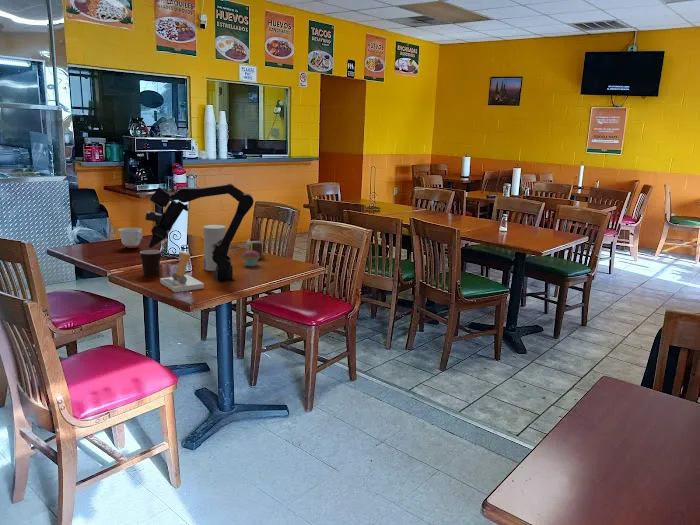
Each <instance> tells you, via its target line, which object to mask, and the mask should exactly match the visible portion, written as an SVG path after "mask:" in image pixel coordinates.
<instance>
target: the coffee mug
mask: <svg viewBox="0 0 700 525" xmlns="http://www.w3.org/2000/svg"><path fill="white" fill-rule="evenodd" d="M139 255H140V261H141V267H142V271H143V276H145V275H149V276H148V277H154V276H153V275H156V276H158V274H159V275H160V269H161V268H160V267H161V260H162V259H161V257H162V251H161V250H159V249H157V250H156V249H148V250H141V251H139Z"/></svg>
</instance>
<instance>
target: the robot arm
mask: <svg viewBox="0 0 700 525" xmlns="http://www.w3.org/2000/svg"><path fill="white" fill-rule="evenodd" d="M221 195H230V196H231V197H232V198H234V199H235V200H236V201H237V202H238V203H237V206H236V211H235V214H234V215H233V218H232V220H230V224H229V226H228V228H227V229H226V234H225V236H224V238H223V240H222V241H221V242H220V244H218V243H216V245H215V248H214V249H213V250H212V254H213V256H212V259H213V261H214V262H215V263H216V264H217V266H216V269H215V271H214V280H216V281H218V282H220V283H223V282H230V281H235V278H234V277H233V271H234V270H233V265H232V258H231V257H229V256H228V253H229V249H230V245H231V244H232V241H233V239H234V237H235V235H236V233H237V231H238V229H239V228H240V225H241V223H242V221H243V219H244V217H245V216H246V214H248V212H249V211H250V210H251V208H252V207H253V205H254V197H253V196H252V195H251V194H250V193H245V192H243V191H242V190H240V189H239V188H237V187H236V186H235V185H234V184H232V183H227V184H221V185H213V186H212V185H211V186H204V187H192V186H191V187H186V186H184V187H181V188H179V189H178V191H176V192H173V193H171V194H170V192H167V190H165V189H163V188H162V187H160V186H159V187H158V188H157V189H156V190H155V192H154V193H152V195H151V197H150V199H149V201H150V202H152V203H153V204H155V205H156V206H158V207H159V208H161V209H162V208H166V209H165V210H164V211H163V213H159V212H156V211H151V210H147V211H146V215H145V221H151V222H156V223H155V224H154V226H153V227H152V228H151V231H150V232H151V235H152V236H151V239H150V242H149V245H148V248H150V249H152V248H153V247H155V246H156V245H158V244H159V243H160V242H162V241H164V240H165V239H166V238H167V236H168V235H169V233H170V231H171V230H172V229H173V226H174V225H175V223H176V222H177V220H178V219H179V217H180V216H181V214H182V213H183V211H186V212H189V211H190V210H189V204H187V203H188V202H189V203H190V202H191V201H195V200H197V199H200V198H206V197H213V196H221ZM184 203H185V204H184Z"/></svg>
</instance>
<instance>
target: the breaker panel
mask: <svg viewBox="0 0 700 525" xmlns="http://www.w3.org/2000/svg"><path fill="white" fill-rule="evenodd" d="M176 274H177V271H174V272H173V273H172V274H171V276H169V277H160V278H159V280H160V284H161V285H163V286H164V287H166V288H167V287H168V288H167V289H169V290H170V289H171V290H170V291H173V292H174V293H181V292H188V291H194V290H201V289H204V288H205V287H204V286H205V285H204V284H205V283H204V282H202V281H200V280H198V279H196V278H194V277H192V276H191V275H189V274H184V276H180V277H179V279H177V278H176ZM180 291H181V292H180Z"/></svg>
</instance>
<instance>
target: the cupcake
mask: <svg viewBox="0 0 700 525" xmlns="http://www.w3.org/2000/svg"><path fill="white" fill-rule="evenodd" d="M241 258H242V259H243V260H244V262H245V265H246V266H247V267H255V266H257V263H258V261H259V259H261V258H260V255H259V253H258V252H256V251H252V242H251V251H250V250H249V251H247V250H245V252H243V253H242V255H241Z"/></svg>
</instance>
